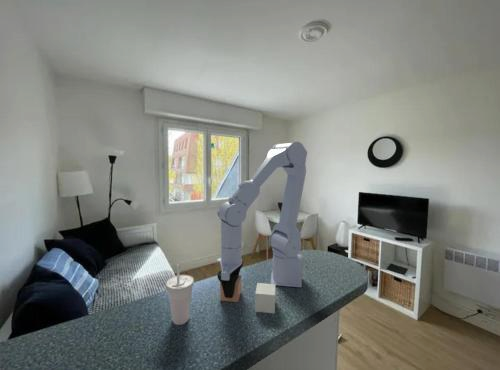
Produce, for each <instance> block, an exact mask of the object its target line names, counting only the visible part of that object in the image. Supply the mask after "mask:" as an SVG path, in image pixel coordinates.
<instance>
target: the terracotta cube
mask: <svg viewBox="0 0 500 370" xmlns="http://www.w3.org/2000/svg"><path fill="white" fill-rule="evenodd" d="M219 287H220V288H219V291H220V292H219V294H220V296H219V298H220V299H219V301H221V302H222V301H223V302H233V303H239V300H240V296H241V293H242V275H241V274H239V277H238V279H237V281H236V283H235V289H234V294H233V297H232V298H225V295H224V292H223V288H222V285H221V282H220V286H219Z"/></svg>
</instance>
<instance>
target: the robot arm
mask: <svg viewBox="0 0 500 370" xmlns="http://www.w3.org/2000/svg"><path fill="white" fill-rule="evenodd" d="M307 156H308V151H307V149H306V148H305V146H304V145H303V143H302V142H300V141H293V142H286V143H276V144H274V145H273V147H272V148H271V149H270V150H269V151H268V152H267V156H266V158H265V159H264V161H262V163H261V164H260V166H259V167H258V169H257V170H256V171H255V173H254V174H253V176H252V177H251V178H250V179H249V180H244V181H243V182H240V183H239V184H238V185H237V187H238V188H237V189H236V190H235V191H234V193H233V194H232V195H231V196H229V197H228V198H227V200H228V201H226V202H223V203H222V204H221V205H220V207H219V210H217V212H216V213H217V217H218V218H219V220H220V221H221V222H220V224H221V225H220V257H218V258H217V259H216V263H217V264H220V268H221V270H220V271H218V272H217V279H218V281H219V282H220V283H221V285H222V288H223V292H224V295H225V298H232V297H233V294H234V289H235V283H236V281H237V279H238V277H239V275H240V273H241V269H242V267H243V265H244V260H243V258H242V244H243V243H242V242H243V239H242V238H243V236H242V234H243V232H242V231H243V227H242V226H243V225H242V223H243V222H244V221H246V218H247V212H248V210H249V209H250V207H251V206H252V205H253V203H254V202H255V201H256V200H257V198H258V197H259V195H260V194H261V190H260V189H261V186H262V185H263V184H264V183H265V182H266V181H267V180H268V179H269V178H270V176H271V175H272V174H273V173H274V172H275V171H276V170H277V169H278V168H282V169H283V171H285V173H286V174H287V177H286V183H285V188H284V193H283V194H284V195H283V198H282V199H283V200H282V204H281V209H280V216H279V220H278V222H277V223H276V224H275V225H273V227H272V232H270V235H269V237H268V244H269V246H270V247H271V249H272V250H271V251H272V271H271V275H270V276H271V277H270V284H275V286H277V287H282V286H283V287H292V288H294V287H295V288H302V287H303V285H302V284H303V255H302V254H300V251H301V249H302V241H301V238H302V233H301V232H300V229H298V227H297V224H298V218H299V213H300V207H301V201H302V195H303V190H304V186H305V185H304V184H305V179H306V176H307V175H306V173H307V166H306V161H307Z"/></svg>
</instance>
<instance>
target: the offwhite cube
mask: <svg viewBox="0 0 500 370" xmlns="http://www.w3.org/2000/svg"><path fill="white" fill-rule="evenodd" d="M254 297H255V298H254V299H255V305H254V306H255V307H254V312H255V313H257V312H258V313H265V314H276V310H275V309H276V285H275V284H271V283H265V282H264V283H262V282H257V284H256V289H255V295H254Z"/></svg>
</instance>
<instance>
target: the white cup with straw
mask: <svg viewBox="0 0 500 370" xmlns="http://www.w3.org/2000/svg"><path fill="white" fill-rule="evenodd" d="M194 280H195V279H194V277H193V276H192V275H188V274H180V264H178V263H177V264H176V275H175V276H173V277H170V278H169V279H167V281H166V282H165V283H166V284H165V290H166V291H167V294H168V300H169V305H170V312H171V318H172V323H173V324H175V326H176V325H178V326H179V325H184V324H186V323H187V322H188V321H189V318H190V310H191V302H192V293H193V287H194V284H195V281H194Z"/></svg>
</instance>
